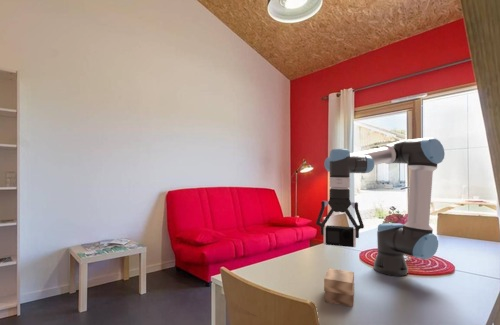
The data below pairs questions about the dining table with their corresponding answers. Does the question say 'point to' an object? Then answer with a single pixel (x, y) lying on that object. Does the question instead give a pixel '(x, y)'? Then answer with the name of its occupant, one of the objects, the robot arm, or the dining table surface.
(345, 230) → the digital camera
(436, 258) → the dining table surface
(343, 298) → the tower base
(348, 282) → the tower top
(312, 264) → the dining table surface
